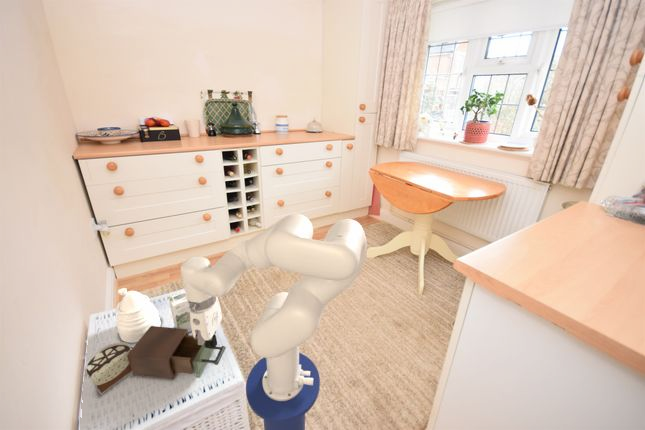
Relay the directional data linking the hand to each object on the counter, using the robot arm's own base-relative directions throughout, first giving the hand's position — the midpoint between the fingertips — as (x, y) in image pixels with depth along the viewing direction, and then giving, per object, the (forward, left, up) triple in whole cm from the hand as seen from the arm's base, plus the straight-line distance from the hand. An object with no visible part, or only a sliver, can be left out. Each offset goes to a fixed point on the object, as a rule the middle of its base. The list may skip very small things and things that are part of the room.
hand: (211, 345), depth 90 cm
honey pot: (+33, -12, -9) cm, 36 cm away
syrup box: (+17, -14, -9) cm, 24 cm away
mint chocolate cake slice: (+29, +7, -9) cm, 31 cm away
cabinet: (+17, 0, -9) cm, 19 cm away
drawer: (+5, 0, -8) cm, 10 cm away
